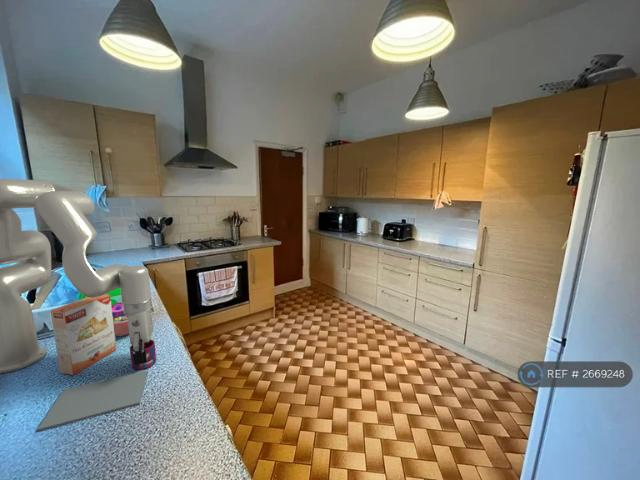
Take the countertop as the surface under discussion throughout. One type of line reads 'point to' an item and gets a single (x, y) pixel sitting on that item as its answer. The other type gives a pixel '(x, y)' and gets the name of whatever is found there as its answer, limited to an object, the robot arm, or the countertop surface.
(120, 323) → the cell model
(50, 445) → the countertop surface
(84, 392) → the rubber mat
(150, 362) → the mug
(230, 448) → the countertop surface
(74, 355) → the cracker box
